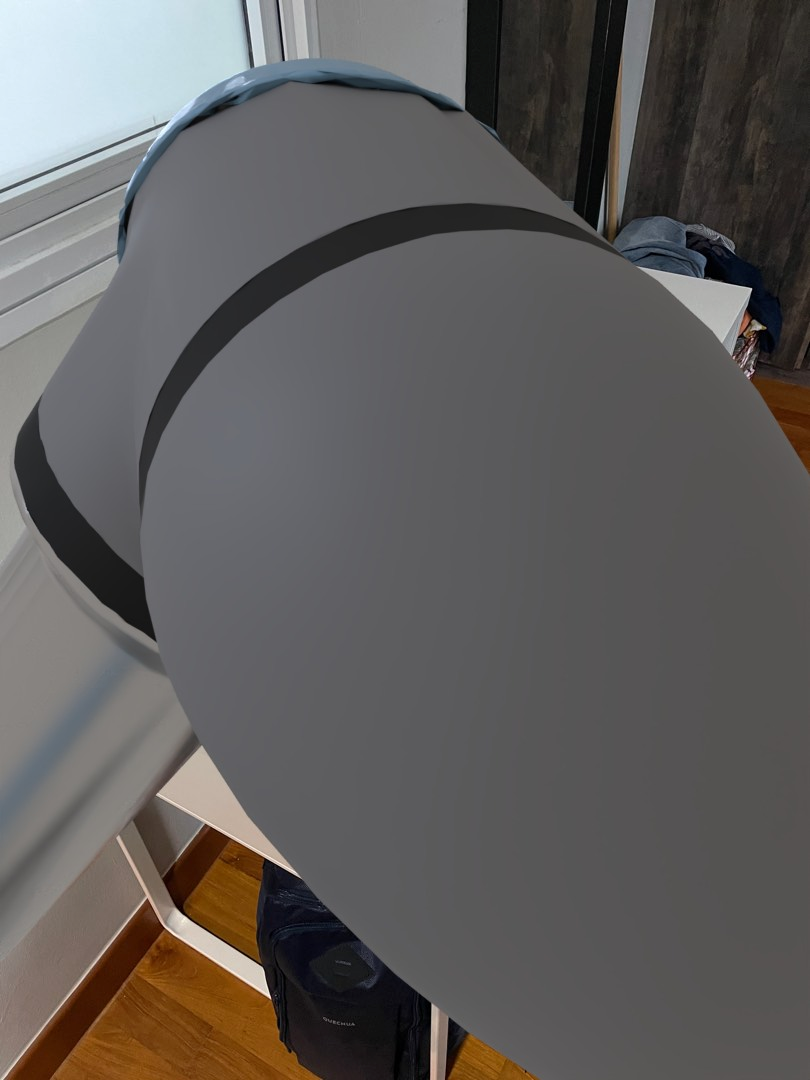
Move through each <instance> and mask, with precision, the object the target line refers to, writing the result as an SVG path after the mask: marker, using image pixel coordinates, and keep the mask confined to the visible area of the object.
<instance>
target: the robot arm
mask: <svg viewBox="0 0 810 1080" xmlns="http://www.w3.org/2000/svg"><path fill="white" fill-rule="evenodd" d="M123 202H124V205H123V207H122V208H121V209H120V210H119V213H118V219H119V221H118V231H117V239H116V254H117V255H116V256H117V263H118V266H117V269H116V270H115V273H114V274H113V276H112V278H111V280H110V282H109V284H108V286H107V287H106V289H105V290H104V292H103V294H102V296H101V297H100V298H99V300H98V302H97V303H96V305H95V306H94V309H93V310H92V312H91V313H90V315H89V316H88V318H87V320H86V321H85V323H84V325H83V326H82V328H81V330H79V333H78V334H77V336H76V337H75V339H74V341H73V342H72V344H71V345H70V347H69V348H68V350H67V352H66V354H65V355H64V357H63V358H62V360H61V362H60V363H59V365H58V367H57V368H56V370H55V371H54V373H53V374H52V376H51V377H50V379H49V381H48V382H47V383H46V385H45V387H44V389H43V391H42V393H41V395H40V396H39V398H38V399H37V401H36V403H35V405H34V406H33V408H32V409H31V411H30V412H29V414H28V415H27V417H26V419H25V421H24V422H23V424H21V425H22V426H21V427H20V429H19V430H18V433H17V434H16V436H15V438H14V440H13V444H12V448H11V451H10V455H9V479H10V483H11V485H10V486H11V489H12V493H13V497H14V500H15V503H16V506H17V509H18V511H19V514H20V517H21V520H22V521H23V523H24V525H25V527H24V529H23V531H22V532H21V534H20V535H19V537H18V538H17V540H16V541H15V543H14V544H13V546H12V547H11V549H10V550H9V552H8V553H7V554H6V556H5V558H4V559H3V560H2V561H1V563H0V964H1V963H2V962H3V961H4V960H6V958H7V957H8V956H9V955H10V954H11V952H13V950H14V949H15V948H16V947H17V946H18V945H19V944H20V942H22V941H23V940H24V939H25V937H26V936H27V935H28V934H29V933H30V932H31V931H32V930H33V929H34V927H35V926H36V925H38V923H39V922H40V921H41V920H42V919H43V918H44V917H45V915H47V914H48V913H49V911H50V910H51V909H52V908H53V907H54V906H55V905H56V904H57V903H58V902H59V901H60V900H61V899H62V897H63V896H64V895H65V894H66V893H67V892H68V891H69V890H70V889H71V888H72V886H73V885H74V884H76V882H77V881H78V880H79V879H80V878H81V877H82V876H83V875H84V873H86V871H87V870H88V869H89V868H91V866H92V865H93V864H94V863H95V862H96V861H97V860H98V858H100V856H101V855H102V854H103V853H104V852H105V851H106V850H107V849H108V847H109V846H111V845H112V843H113V842H114V841H115V840H116V839H117V838H118V837H119V836H120V834H122V833H123V831H124V830H125V829H126V828H127V827H128V826H129V825H130V824H131V823H132V822H133V821H134V819H136V817H137V816H138V815H139V814H140V813H141V812H142V811H143V810H144V808H146V806H148V805H149V803H150V802H151V801H152V800H153V799H154V798H155V797H156V796H157V795H158V794H159V792H160V791H162V789H163V788H164V787H165V786H166V785H167V784H168V783H169V781H170V780H171V779H172V778H173V777H174V776H175V775H176V774H177V773H178V772H179V771H180V770H181V769H182V767H184V765H185V764H186V763H187V762H188V761H189V760H190V759H191V758H192V757H193V756H194V754H196V752H197V751H199V749H201V747H202V748H203V749H204V751H205V753H206V754H207V756H208V757H209V759H210V760H211V762H212V763H213V765H214V767H215V768H216V770H217V771H218V772H219V774H220V776H221V777H222V779H223V780H224V782H225V783H226V785H227V786H228V788H229V790H230V792H231V793H232V794H233V796H234V797H235V799H236V801H237V802H238V804H239V805H240V807H241V808H242V811H243V812H244V813H245V815H246V817H248V818H249V820H250V821H251V822H252V823H253V824H254V826H255V827H256V828H257V829H258V830H259V832H260V833H261V834H262V835H263V836H264V837H265V838H266V840H267V841H269V843H270V845H272V846H273V847H274V849H275V850H277V852H278V853H279V854H280V855H281V857H282V858H283V859H284V860H285V861H286V862H287V863H288V865H289V866H290V867H291V868H292V869H293V870H294V872H295V874H297V875H298V876H299V878H300V879H301V880H302V881H303V882H304V884H305V885H306V886H307V887H308V888H309V889H310V891H311V892H312V893H313V894H314V896H316V898H317V899H318V900H319V901H320V902H321V903H322V904H323V905H324V906H325V908H327V909H328V910H329V911H330V912H331V913H332V914H333V915H334V916H335V917H336V918H337V919H338V920H339V921H340V922H341V923H342V924H344V925H345V926H346V927H347V928H348V930H350V931H351V932H352V933H353V934H354V935H355V936H356V938H358V939H359V940H360V941H361V942H362V943H363V944H364V946H366V947H367V948H368V949H369V950H370V951H371V952H372V953H373V954H374V955H375V956H376V957H377V959H379V960H380V961H381V962H382V963H383V964H384V965H385V966H386V967H388V969H389V970H391V972H392V973H393V974H395V975H396V976H397V977H398V978H400V979H401V980H402V981H403V982H404V983H406V984H407V985H408V986H410V987H411V988H412V989H413V990H414V991H416V992H417V993H418V994H420V995H421V996H422V997H423V998H425V999H426V1000H427V1001H428V1002H429V1003H431V1004H432V1005H433V1006H435V1007H436V1008H437V1009H438V1010H439V1011H441V1013H444V1014H445V1016H447V1017H448V1018H450V1020H452V1021H453V1022H455V1023H456V1024H457V1025H458V1026H460V1027H461V1028H462V1029H464V1031H466V1032H467V1033H468V1034H470V1035H471V1036H472V1037H474V1038H476V1039H477V1040H479V1041H481V1042H482V1043H483V1044H485V1045H486V1046H488V1047H490V1048H491V1049H493V1050H494V1051H495V1052H498V1053H499V1054H501V1055H502V1056H503V1057H505V1058H507V1059H508V1060H510V1061H511V1062H513V1063H514V1064H516V1065H517V1066H519V1067H520V1068H521V1069H523V1070H525V1071H526V1072H528V1073H529V1074H531V1075H533V1076H534V1077H535V1078H537V1079H539V1080H810V473H809V472H808V470H807V468H806V467H805V465H804V463H803V462H802V460H801V458H800V457H799V455H798V453H797V451H796V450H795V449H794V447H793V445H792V444H791V442H790V440H789V439H788V437H787V436H786V433H785V432H784V430H782V427H781V425H780V424H779V422H778V421H777V419H776V418H775V416H774V415H773V413H772V411H771V410H770V408H769V406H768V405H767V403H766V401H765V400H764V398H763V396H762V395H761V393H760V392H759V390H758V388H756V386H755V385H754V384H753V382H752V381H751V380H750V378H749V377H748V376H747V374H746V373H745V372H744V371H743V368H742V367H740V365H739V364H738V363H737V361H736V360H735V359H734V357H733V356H732V355H731V353H730V352H729V350H728V349H727V348H726V347H725V346H724V344H723V342H722V341H721V340H720V338H718V336H717V335H716V334H715V332H714V331H713V330H712V329H711V328H710V327H709V326H708V325H707V324H706V323H705V322H703V321H702V320H701V319H700V318H699V317H698V316H697V315H696V314H695V313H693V311H691V309H689V307H687V306H686V305H685V304H684V303H683V302H682V301H680V299H679V298H677V296H675V295H674V294H673V293H672V292H671V291H670V290H669V289H668V288H667V287H665V286H664V284H662V282H660V280H658V279H656V278H655V277H653V276H652V275H650V273H647V272H645V270H643V269H641V268H640V267H638V266H637V265H636V264H634V263H633V262H632V261H630V260H629V258H627V257H626V256H625V255H624V254H622V253H621V251H619V250H618V249H617V248H616V247H615V246H614V245H613V244H611V243H610V242H609V241H608V240H607V239H606V238H605V237H604V236H602V234H600V233H599V232H598V231H596V230H595V228H593V227H592V226H591V225H590V224H589V223H588V222H587V221H586V220H585V219H584V218H583V217H582V216H580V215H579V214H577V212H575V211H574V210H573V209H572V208H571V207H570V206H569V205H568V204H566V203H565V202H564V201H563V200H562V199H561V198H560V197H559V196H558V195H556V194H555V193H554V192H553V191H552V190H551V189H550V188H549V187H548V186H546V185H545V184H544V183H543V182H542V181H541V180H540V179H538V178H537V177H536V176H535V175H534V174H533V173H532V172H531V171H529V169H528V168H526V167H525V166H524V165H523V164H522V163H521V162H520V161H519V160H518V159H517V157H515V156H514V154H513V153H512V152H511V151H510V149H508V147H507V146H506V145H505V144H504V142H502V140H501V139H500V137H499V136H498V134H497V132H496V130H495V129H493V128H492V127H490V126H488V125H487V124H485V123H483V122H481V121H480V120H478V119H476V118H475V116H473V115H472V114H471V113H469V112H468V111H467V110H466V109H465V108H463V107H462V105H460V104H459V103H458V102H456V101H455V100H454V99H453V98H451V97H449V96H447V95H445V94H443V93H441V92H438V93H437V92H435V91H432V90H429V89H426V88H423V87H421V86H419V85H418V84H415V83H414V82H412V81H411V80H409V79H406V78H404V77H402V76H400V75H398V74H396V73H393V72H391V71H388V70H386V69H382V68H380V67H376V66H373V65H370V64H366V63H361V62H358V61H352V60H347V59H337V58H326V57H313V58H312V57H309V58H297V59H289V60H284V61H278V62H272V63H271V62H270V63H266V64H262V65H258V66H255V67H252V68H251V67H250V68H249V69H246V70H243V71H240V72H237V73H235V74H233V75H231V76H229V77H227V78H225V79H223V80H221V81H219V82H218V83H216V84H213V85H212V86H210V87H209V88H208V89H205V90H204V91H203V92H202V93H200V94H199V95H197V96H195V97H194V98H193V99H192V100H190V102H188V103H187V104H186V105H184V106H183V107H182V108H181V109H180V110H179V111H178V112H177V113H176V114H175V115H174V116H173V117H172V118H171V119H170V120H169V121H168V122H167V124H166V125H165V126H164V127H163V128H162V130H160V132H159V133H158V135H157V137H156V138H155V139H154V141H153V142H152V144H151V145H150V147H149V148H148V150H147V152H146V154H145V155H144V157H143V158H142V159H141V161H140V162H139V164H138V166H137V167H136V169H135V170H134V173H133V175H132V177H131V178H130V181H129V182H128V185H127V187H126V191H125V194H124V201H123Z"/></svg>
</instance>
